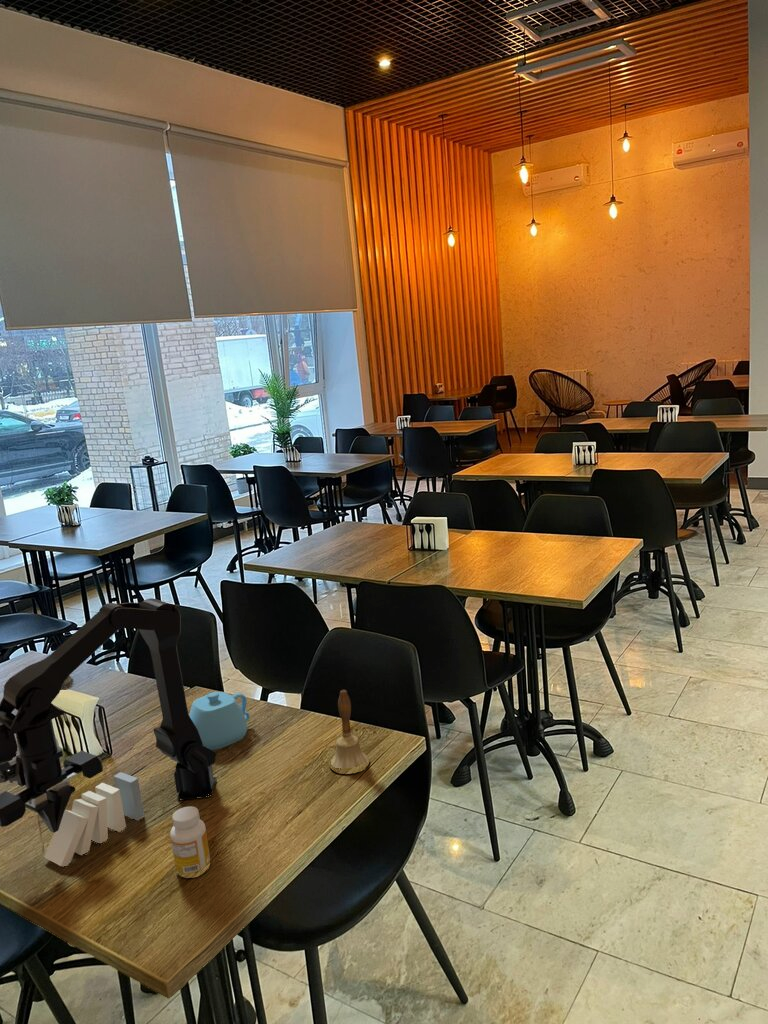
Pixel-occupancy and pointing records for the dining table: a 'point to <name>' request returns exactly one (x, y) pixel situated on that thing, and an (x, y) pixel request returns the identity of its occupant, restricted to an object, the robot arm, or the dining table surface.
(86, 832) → the domino
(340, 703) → the hand bell
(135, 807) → the domino
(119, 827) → the domino
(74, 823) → the domino
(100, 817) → the domino
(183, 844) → the supplement bottle
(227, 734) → the teapot
